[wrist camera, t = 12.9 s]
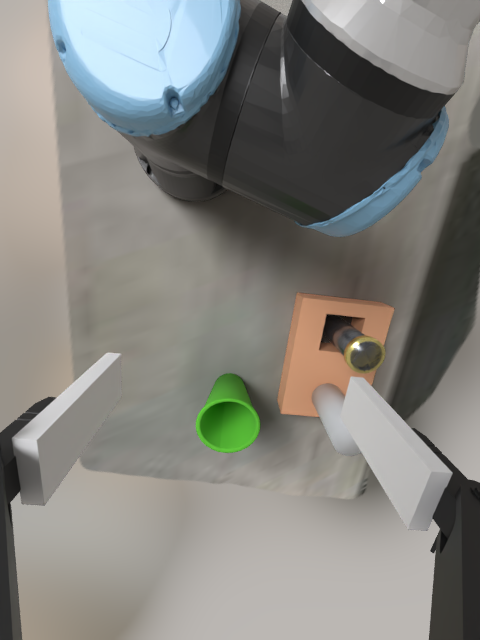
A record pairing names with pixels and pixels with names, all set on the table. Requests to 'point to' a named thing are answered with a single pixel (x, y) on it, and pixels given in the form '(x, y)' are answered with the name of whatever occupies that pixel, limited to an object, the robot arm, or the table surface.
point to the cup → (228, 417)
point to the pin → (354, 345)
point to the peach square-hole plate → (326, 362)
